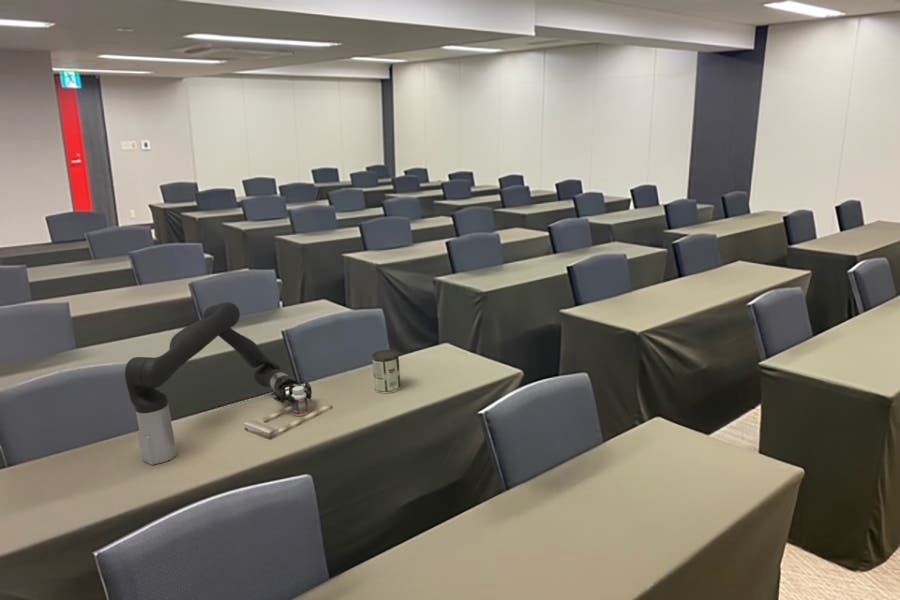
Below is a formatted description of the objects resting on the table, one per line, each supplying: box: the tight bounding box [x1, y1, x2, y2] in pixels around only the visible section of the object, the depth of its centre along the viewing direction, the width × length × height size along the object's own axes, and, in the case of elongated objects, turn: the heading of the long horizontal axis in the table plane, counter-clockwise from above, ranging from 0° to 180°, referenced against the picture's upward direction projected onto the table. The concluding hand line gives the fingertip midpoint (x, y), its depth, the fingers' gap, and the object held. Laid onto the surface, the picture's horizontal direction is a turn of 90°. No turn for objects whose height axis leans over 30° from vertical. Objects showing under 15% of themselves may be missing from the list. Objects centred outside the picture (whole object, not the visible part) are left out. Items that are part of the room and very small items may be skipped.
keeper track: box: [243, 398, 333, 441], centre depth 222 cm, size 28×13×2 cm, turn 143°
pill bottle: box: [291, 385, 309, 417], centre depth 225 cm, size 5×5×10 cm
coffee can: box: [371, 349, 402, 394], centre depth 242 cm, size 10×10×14 cm
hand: (301, 398), depth 222 cm, fingers closed on pill bottle, 5 cm apart
